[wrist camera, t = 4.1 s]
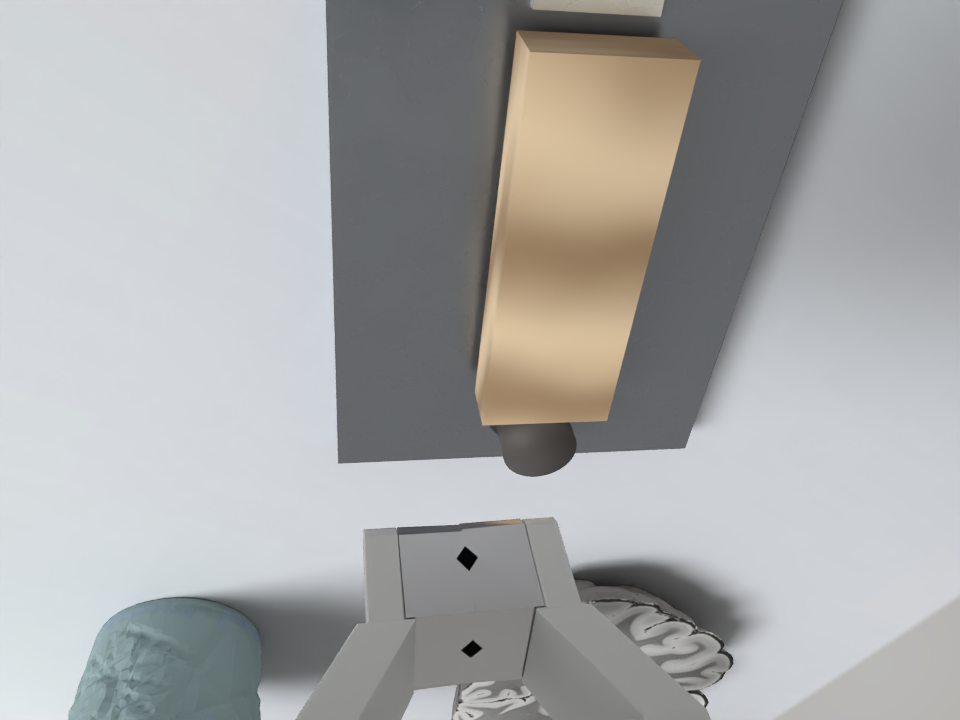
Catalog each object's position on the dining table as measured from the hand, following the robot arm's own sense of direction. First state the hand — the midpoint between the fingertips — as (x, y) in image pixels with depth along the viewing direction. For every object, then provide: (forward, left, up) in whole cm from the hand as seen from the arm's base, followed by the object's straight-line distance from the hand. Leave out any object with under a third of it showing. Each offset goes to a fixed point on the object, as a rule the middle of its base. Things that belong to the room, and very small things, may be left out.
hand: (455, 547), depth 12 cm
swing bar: (+5, +6, -16) cm, 18 cm away
